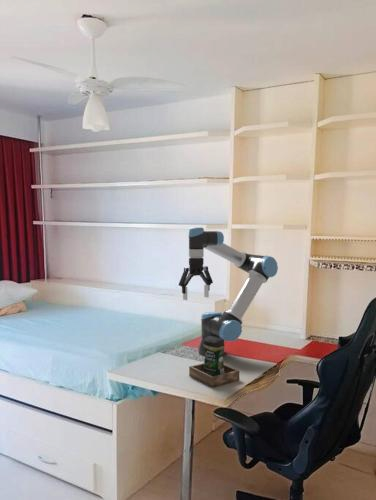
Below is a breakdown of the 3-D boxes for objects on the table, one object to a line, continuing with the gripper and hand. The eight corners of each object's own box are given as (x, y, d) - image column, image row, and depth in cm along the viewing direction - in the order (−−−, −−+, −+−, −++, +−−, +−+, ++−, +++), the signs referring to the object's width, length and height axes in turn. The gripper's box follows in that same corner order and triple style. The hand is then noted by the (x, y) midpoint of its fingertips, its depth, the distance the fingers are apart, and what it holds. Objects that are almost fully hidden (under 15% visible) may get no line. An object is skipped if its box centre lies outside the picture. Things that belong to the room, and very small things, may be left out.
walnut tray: (215, 369, 204) (215, 360, 204) (239, 380, 190) (239, 370, 189) (189, 375, 195) (189, 366, 195) (212, 387, 180) (212, 377, 180)
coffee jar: (200, 375, 192) (200, 337, 191) (210, 371, 198) (211, 333, 197) (216, 380, 186) (217, 340, 185) (226, 376, 192) (227, 337, 191)
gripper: (210, 256, 218) (210, 295, 219) (171, 257, 204) (171, 299, 205) (219, 256, 212) (219, 297, 213) (180, 258, 198) (180, 302, 199)
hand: (196, 298), depth 209 cm, fingers open, 13 cm apart
